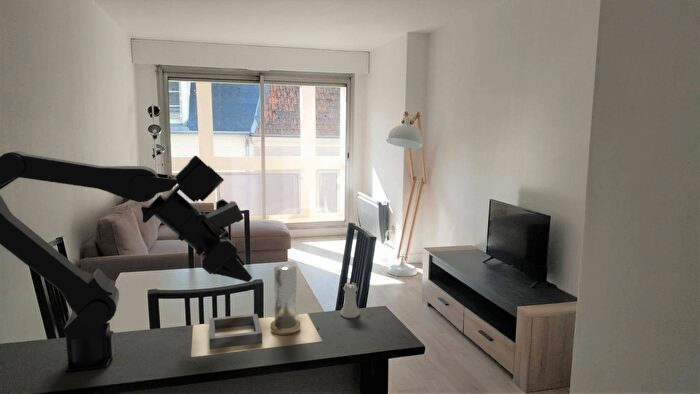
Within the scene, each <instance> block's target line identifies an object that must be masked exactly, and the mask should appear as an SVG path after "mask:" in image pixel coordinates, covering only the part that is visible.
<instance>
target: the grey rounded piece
mask: <svg viewBox="0 0 700 394" xmlns="http://www.w3.org/2000/svg"><path fill="white" fill-rule="evenodd" d="M273 271H274V272H273V275H274V279H273V282H274V283H273V284H274V287H273V288H274V289H273V291H274V294H273V295H274V297H273V298H274V300H273V301H274V303H273V305H274V313H273V314H274V317H275V320H274V321H273V322H272V323H271V332H272V333H273V334H275V335H278V336H290V335H294V334H296V333H298V332H299V331H300V322H299V321H298V320H296V315H297V266H296V265H292V264H279V265H275V266H274V268H273Z"/></svg>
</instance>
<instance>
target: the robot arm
mask: <svg viewBox="0 0 700 394" xmlns="http://www.w3.org/2000/svg"><path fill="white" fill-rule="evenodd" d="M19 178H20V179H28V180H35V181H43V182H49V183H55V184H56V183H57V184H63V185H70V186H77V187H82V188H83V187H84V188H91V189H98V190H101V191H103V192H104V191H105V192H107V193H110V194H111V195H114V196H118V197H120V198H124V199H127V200H131V201H134V202H137V203H146V202H148V201H151V200H152V199H153V198H155V197H156V196H157V194H159V195H158V196H157V197H156V198H155V199H154V200H153V201H152V202H151V203H150V204H149V205H142V206H141V207H140V210H141V212H142V223H144V224H145V223H146V224H147V222H149V221H150V220H151V218H153V217H154V218H156V219H158V221H160V222H161V223H162V224H163V225H165V227H167V228H168V229H169V230H171V231H172V232H173V233H174V234H176V236H177V239H178V240H180V241H181V242H183V241H184V242H185V243H187V245H189V246H190V247H191V248H192V249H194V253H195V254H197V255H198V256H199V257H200V264H201V268H202V269H203V270H204V271H205V272H206V273H207V274H209V275H220V276H223V277H228V278H230V279H236V280H239V281H244V282H246V283H249V282H251V280H252V279H253V276H252V275H251V274H250V273H249V271H248V270H247V269H246V267H245V262H244V261H243V259H242V258H241V257H240V256H239V255H238V253H237V252H238V248H237V245H235V243H234V242H233V241H232V240H230V238H229V237H230V236H229V235H230V234H229V231H228V230H227V227H230V226H231V225H233V224H235V223H239V222H241V221H242V220H244V219H245V217H244V215H243V213H242V211H241V210H240V207H239V205H238V203H237V202H236V201H234V200H233V201H229V202H228V201H226V200H225V199H223V198H221V199H219V200H218V201H216V202H215V209H212V211H211V212H208V213H206V212H205V211H203V210H200V209H199V210H198V209H197V208H196V207H195V206H194V205H193V204H191V203H190V202H189V201H188V200H187V199H186V198H184V197H183V196H182V195H181V194H180V193H179V191H180V192H181V193H183V195H185V196H186V197H187V198H188V199H189V200H190V201H192V202H193V203H195V202H196V201H197V202H199V200H200V202H204V201H205V200H206V199H207V198H208V197H209V196H210V195H211V194H212V193H213V192H214V191H215V190H216V189H217V188H218V187H219V186H220V185H221V184H222V183H223V182H224V181H225V179H224V178H223V177H222V176H220V174H219V173H217V172H216V171H215V169H213V168H212V167H211V166H210V165H207V164H206V163H205V162H204V161H203V160H202V159H201V158H200V157H198V156H197V155H193V156H192V158H190V160H189V161H188V163H187V164H186V165H185V166H184V167H183V168H182V169H181V170H179V172H178V173H177V174H176V175H174V174H170V173H167V174H166V173H165V174H164V173H157V172H156V171H155V169H153V168H151V167H148V166H145V165H143V166H142V165H115V166H112V165H111V166H109V165H107V166H106V165H105V166H102V165H96V164H90V163H85V162H79V161H74V160H73V161H72V160H66V159H62V158H61V159H60V158H53V157H49V156H47V157H46V156H43V155H36V154H31V153H30V154H29V153H26V152H24V151H21V150H20V151H10V152H5V153H3V154H2V155H0V190H3V189H4V188H5V187H7V186H8V185H10V184H11V183H13V182H14V181H16V180H17V179H19ZM174 187H175V188H174ZM165 192H169V193H168V194H167V195H166V196H164V195H162V194H161V193H165ZM0 246H2V247H3V248H4V249H5V250H7V251H8V252H10V253H11V254H12V255H13V256H15V257H16V258H17V259H18V260H20V262H22V263H23V264H24V265H26V266H28V267H29V268H30V269H31V270H32V271H34V272H35V273H36V274H38V275H39V276H40V277H42V278H43V279H45V280H46V281H47V282H48V283H50V284H51V286H54V287H55V289H57V290H58V291H59V292H60V293H61V294H62V297H63V298H64V300H65V302H66V303H67V305H68V306H69V308H70V310H72V312H71V314H70V316H69V318H68V319H67V322H66V324H65V326H64V327H63V332H64V334H65V342H66V359H67V364H66V366H65V368H64V372H65V373H66V372H67V373H68V372H75V371H85V370H92V369H93V370H94V369H101V368H107V367H108V366H109V363H110V360H111V359H113V357H114V355H115V352H116V350H115V349H116V348H115V347H116V346H115V333H114V331H113V330H111V324H110V321H111V320H112V319H113V317H114V316H115V315H116V311H117V308H118V305H119V300H120V292H119V289H118V288H117V286H116V284H117V281H116V280H113V279H111V278H109V277H108V276H107V275H106V274H105V273H104V272H103V271H102V270H101V269H100V268H96V270H95V271H94V273H90V272H88V271H85V270H82V269H81V268H79V267H78V266H77V265H75V264H74V263H73V262H72V261H71V260H70V259H68V258H67V257H66V256H64V255H63V254H62V253H60V251H58V250H57V248H54V247H53V246H52V245H51V244H50V243H48V242H47V241H46V240H45V239H44V238H42V237H41V236H40V235H38V234H37V233H36V232H35V231H34V230H32V229H31V228H30V227H29V226H28V225H26V224H25V223H24V222H23V221H21V220H20V219H19V218H17V217H16V216H15V215H14V214H13V213H12V212H11V210H10V209H9V207H8V206H7V204H6V202H5V199H4V198H3V197H2V196H1V195H0Z"/></svg>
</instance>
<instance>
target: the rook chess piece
mask: <svg viewBox="0 0 700 394" xmlns="http://www.w3.org/2000/svg"><path fill="white" fill-rule="evenodd" d="M342 289H343V291H344V294H343V296H344V303H343V307H342V308H341V310H340V315H341V316H342V317H344V318H345V319H355V318H357V317H358V316H360V314H361V313H360V310H359V307H358V306H357V298H356V297H357V293H356V292H357V291H358V289H359V287H358V286H357V283H356V282H355V283H354V282H351V283H350V281H349V282H346V283H344V287H343V288H342Z"/></svg>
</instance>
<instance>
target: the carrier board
mask: <svg viewBox="0 0 700 394" xmlns="http://www.w3.org/2000/svg"><path fill="white" fill-rule="evenodd" d="M274 320H275V316H268V317H259V316H258V314H257V313H250V314H240V315H231V316H220V317H209V318H208V323H202V324H201V323H200V324H193V325H192V337H191V350H190V352H191V353H190V358H196V357H197V358H198V357H205V356H206V357H207V356H213V355H220V354H229V353H238V352H245V351H246V352H248V351H255V350H263V349H270V348H271V349H272V348H279V347H280V348H281V347H286V346H287V347H288V346H295V345H297V346H298V345H305V344H312V343H318V342H319V343H320V342H323V340H322V338H321V335H320V334H319V333H318V330H317V328H316V327H315V325H314V323H313V321H312V320H311V317H310V316H309V313H299V314H297V313H296V320H298V321H299V322H300V331H299V332H298V333H296V334H294V335H290V336H278V335H275V334H273V333H272V332H271V323H272V322H273V321H274Z"/></svg>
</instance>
